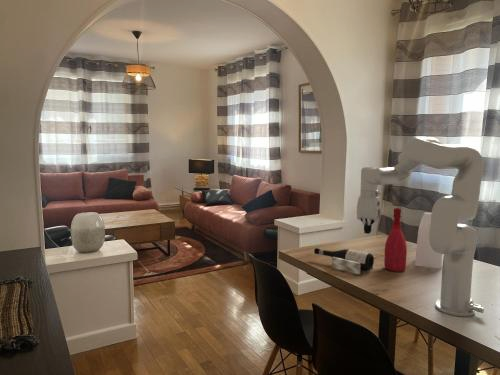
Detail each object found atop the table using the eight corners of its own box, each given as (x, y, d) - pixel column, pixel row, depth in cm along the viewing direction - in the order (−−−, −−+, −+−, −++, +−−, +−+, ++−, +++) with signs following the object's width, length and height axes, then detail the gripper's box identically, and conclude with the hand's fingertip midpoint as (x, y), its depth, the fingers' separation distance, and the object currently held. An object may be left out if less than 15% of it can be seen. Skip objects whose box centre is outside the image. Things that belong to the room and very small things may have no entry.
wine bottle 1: (372, 250, 177) (316, 240, 196) (366, 261, 172) (309, 250, 191) (375, 262, 180) (320, 251, 200) (369, 274, 176) (313, 261, 195)
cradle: (372, 268, 182) (373, 256, 181) (358, 276, 171) (358, 263, 171) (346, 262, 191) (347, 251, 191) (331, 269, 181) (332, 257, 180)
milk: (441, 262, 192) (444, 212, 189) (441, 268, 182) (444, 216, 179) (416, 259, 197) (418, 210, 194) (414, 265, 187) (417, 214, 184)
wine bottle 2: (407, 273, 176) (410, 210, 172) (385, 271, 178) (388, 209, 174) (403, 266, 185) (406, 206, 182) (382, 265, 187) (385, 206, 184)
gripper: (388, 194, 170) (386, 234, 172) (357, 191, 180) (356, 229, 182) (381, 196, 164) (379, 237, 167) (350, 193, 175) (349, 231, 177)
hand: (367, 232), depth 174 cm, fingers closed
